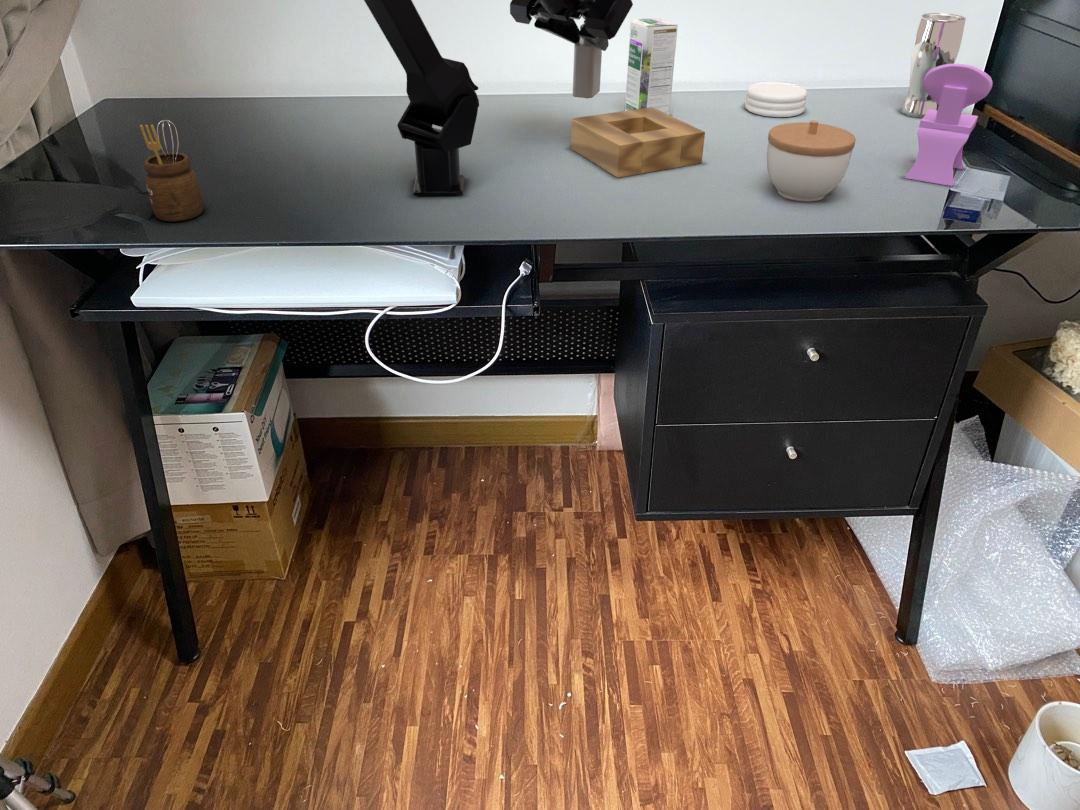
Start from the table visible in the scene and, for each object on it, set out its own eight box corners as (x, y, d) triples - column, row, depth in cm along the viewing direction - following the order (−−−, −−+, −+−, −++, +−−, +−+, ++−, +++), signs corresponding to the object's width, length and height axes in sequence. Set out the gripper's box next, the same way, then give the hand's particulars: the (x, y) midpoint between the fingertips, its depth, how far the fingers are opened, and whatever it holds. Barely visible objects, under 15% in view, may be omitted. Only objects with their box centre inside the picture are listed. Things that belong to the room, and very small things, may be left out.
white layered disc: (733, 104, 148) (736, 83, 146) (784, 99, 151) (787, 79, 149) (762, 120, 140) (766, 98, 138) (815, 115, 143) (819, 93, 141)
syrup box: (623, 112, 144) (628, 19, 136) (653, 108, 146) (660, 16, 138) (640, 121, 140) (646, 26, 132) (671, 116, 142) (679, 22, 134)
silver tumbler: (898, 117, 142) (921, 19, 133) (897, 105, 147) (919, 11, 139) (943, 120, 140) (969, 22, 132) (940, 109, 146) (965, 14, 137)
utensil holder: (210, 204, 109) (189, 109, 103) (195, 223, 104) (172, 124, 98) (164, 205, 109) (139, 109, 103) (147, 224, 104) (119, 125, 97)
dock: (617, 177, 118) (619, 145, 115) (570, 148, 128) (571, 118, 126) (701, 163, 123) (705, 131, 120) (650, 136, 133) (652, 106, 131)
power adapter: (571, 96, 127) (574, 9, 120) (581, 88, 131) (584, 2, 125) (591, 98, 126) (595, 10, 120) (600, 90, 131) (605, 4, 124)
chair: (971, 168, 121) (1003, 57, 113) (961, 187, 115) (995, 71, 106) (910, 158, 124) (937, 49, 116) (897, 176, 118) (925, 63, 110)
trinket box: (843, 183, 116) (857, 113, 111) (844, 212, 108) (859, 137, 102) (762, 175, 119) (773, 106, 113) (757, 203, 110) (768, 130, 105)
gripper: (629, -78, 108) (672, 7, 121) (523, -87, 119) (573, -9, 132) (586, -3, 108) (633, 74, 121) (483, -19, 118) (537, 53, 131)
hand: (593, 45), depth 126 cm, fingers closed on power adapter, 4 cm apart
